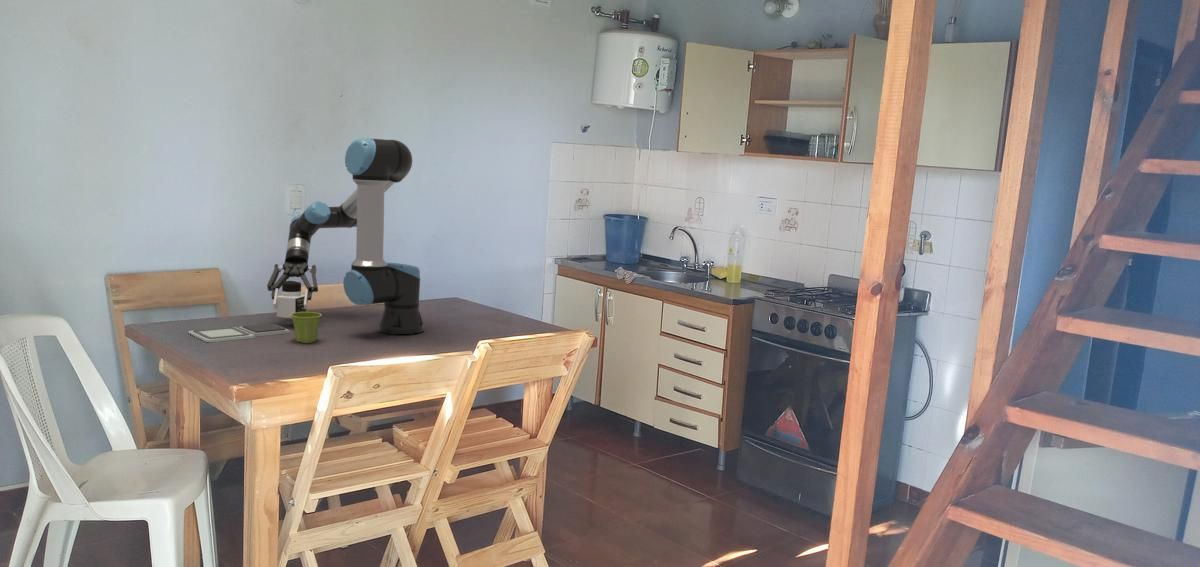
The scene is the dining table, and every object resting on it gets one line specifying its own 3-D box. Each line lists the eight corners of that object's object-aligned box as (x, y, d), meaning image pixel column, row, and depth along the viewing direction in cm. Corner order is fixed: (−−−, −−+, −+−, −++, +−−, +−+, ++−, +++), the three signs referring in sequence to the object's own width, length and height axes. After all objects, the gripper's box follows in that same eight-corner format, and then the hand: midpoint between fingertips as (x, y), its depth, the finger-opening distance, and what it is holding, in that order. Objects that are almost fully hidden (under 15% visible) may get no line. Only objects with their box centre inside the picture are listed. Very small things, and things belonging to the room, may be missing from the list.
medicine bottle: (295, 318, 308) (295, 283, 306) (276, 317, 309) (276, 281, 307) (306, 315, 315) (306, 280, 313) (287, 313, 316) (287, 279, 314)
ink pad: (289, 333, 302) (289, 329, 302) (254, 336, 294) (254, 332, 294) (273, 326, 311) (273, 322, 311) (238, 329, 302) (238, 325, 302)
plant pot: (292, 345, 286) (293, 317, 285) (287, 338, 295) (288, 312, 293) (323, 343, 291) (324, 316, 290) (318, 337, 299) (318, 311, 298)
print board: (254, 337, 293) (254, 334, 293) (206, 342, 282) (206, 339, 282) (234, 329, 303) (234, 325, 303) (187, 333, 293) (187, 330, 293)
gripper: (330, 261, 326) (324, 313, 313) (266, 260, 323) (257, 312, 309) (328, 248, 320) (322, 300, 307) (263, 246, 317) (254, 299, 303)
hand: (290, 306), depth 308 cm, fingers closed on medicine bottle, 9 cm apart
